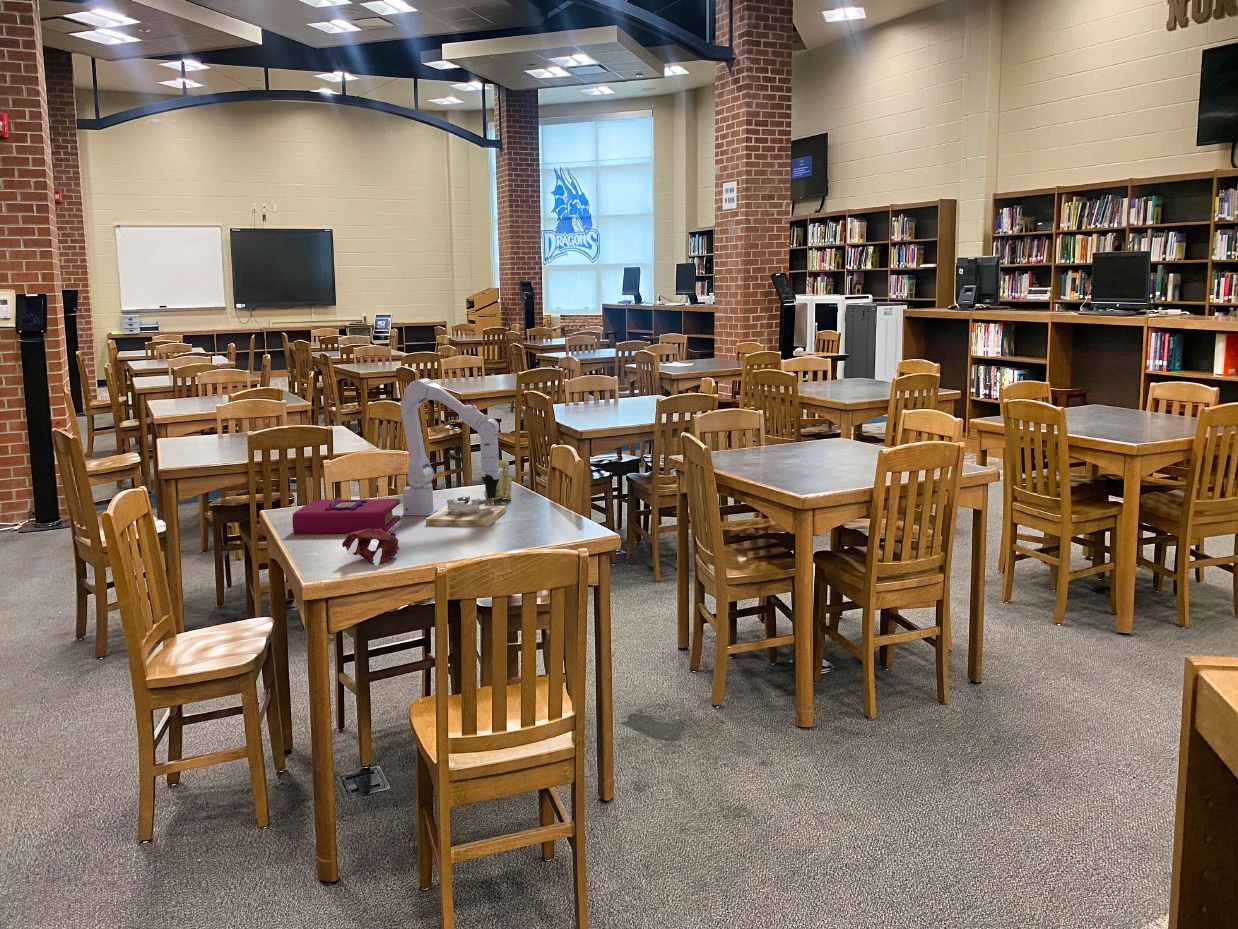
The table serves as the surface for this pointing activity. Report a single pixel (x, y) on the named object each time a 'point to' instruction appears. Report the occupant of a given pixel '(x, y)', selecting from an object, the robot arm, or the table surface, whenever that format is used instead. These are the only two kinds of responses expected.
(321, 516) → the book
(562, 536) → the table surface
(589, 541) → the table surface
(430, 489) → the robot arm
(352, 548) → the dark red lumpy piece
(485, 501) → the grey boxy piece
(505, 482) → the mechanical component
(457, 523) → the base plate
